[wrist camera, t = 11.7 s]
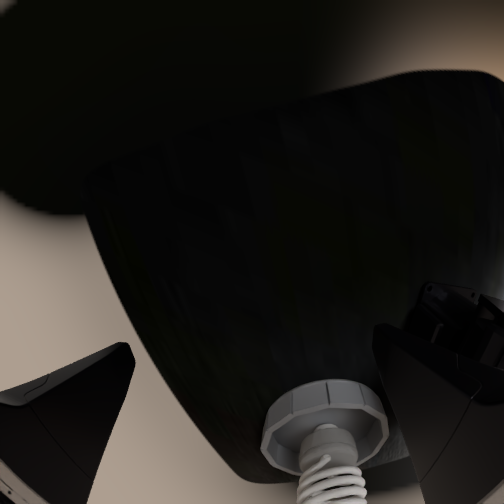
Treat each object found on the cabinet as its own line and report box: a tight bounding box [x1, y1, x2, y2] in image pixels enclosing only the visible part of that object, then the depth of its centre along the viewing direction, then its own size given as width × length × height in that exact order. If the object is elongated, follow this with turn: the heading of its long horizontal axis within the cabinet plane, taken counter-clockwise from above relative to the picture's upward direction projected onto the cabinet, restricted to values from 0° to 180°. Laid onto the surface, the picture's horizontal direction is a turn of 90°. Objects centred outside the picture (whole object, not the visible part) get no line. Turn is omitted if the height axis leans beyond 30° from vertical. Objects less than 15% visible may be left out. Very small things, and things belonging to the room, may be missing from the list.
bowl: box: [260, 379, 389, 476], centre depth 22 cm, size 12×12×4 cm
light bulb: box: [296, 424, 367, 504], centre depth 17 cm, size 6×6×12 cm
